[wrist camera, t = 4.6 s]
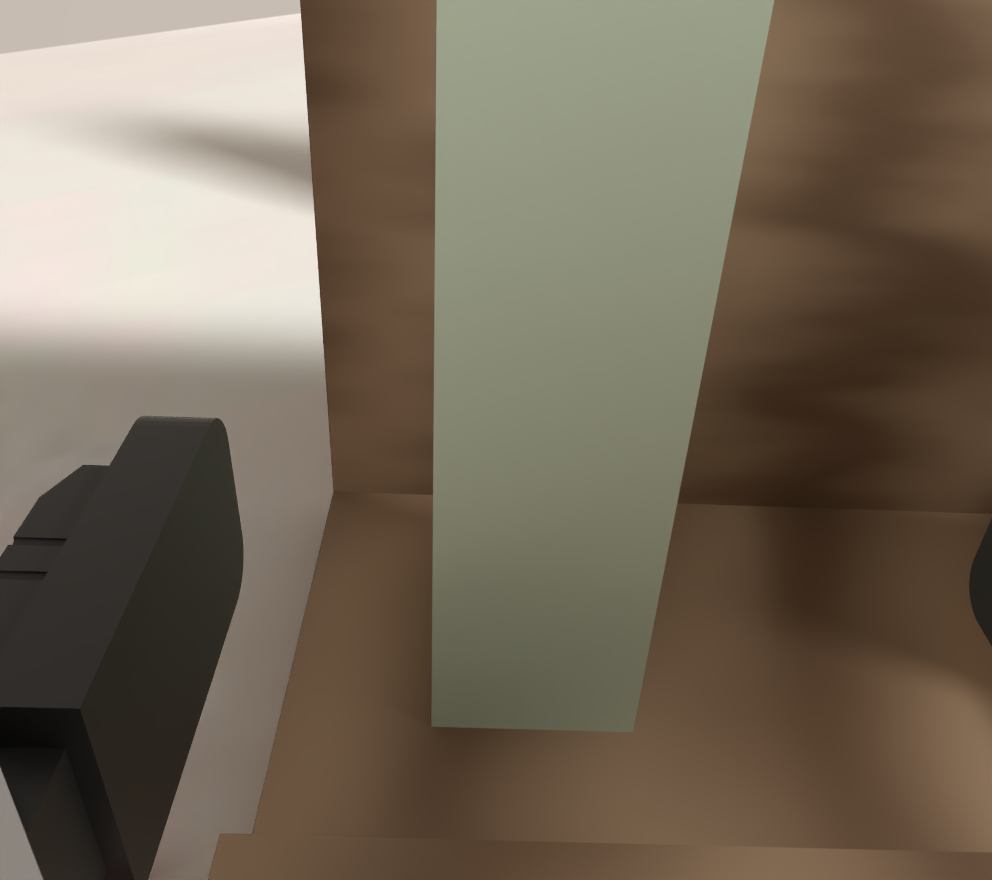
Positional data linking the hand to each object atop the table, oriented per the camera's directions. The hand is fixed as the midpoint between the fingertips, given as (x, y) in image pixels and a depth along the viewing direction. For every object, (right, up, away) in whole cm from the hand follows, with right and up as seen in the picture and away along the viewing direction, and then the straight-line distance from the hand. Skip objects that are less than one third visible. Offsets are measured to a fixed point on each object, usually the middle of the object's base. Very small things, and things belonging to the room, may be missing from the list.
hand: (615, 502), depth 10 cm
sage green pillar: (0, -4, +11) cm, 12 cm away
